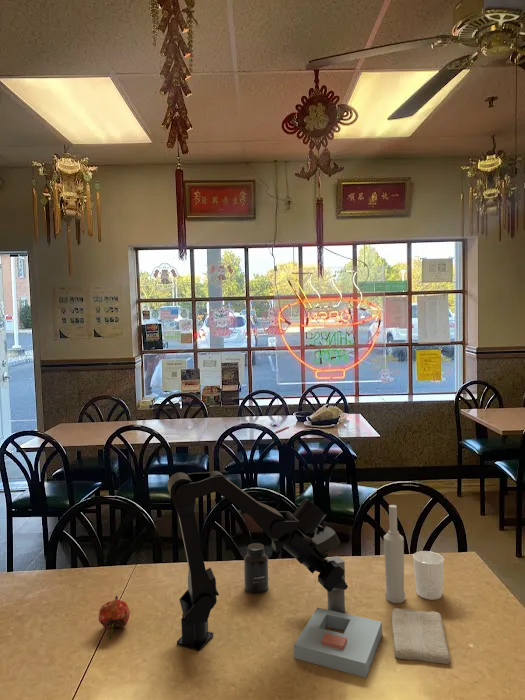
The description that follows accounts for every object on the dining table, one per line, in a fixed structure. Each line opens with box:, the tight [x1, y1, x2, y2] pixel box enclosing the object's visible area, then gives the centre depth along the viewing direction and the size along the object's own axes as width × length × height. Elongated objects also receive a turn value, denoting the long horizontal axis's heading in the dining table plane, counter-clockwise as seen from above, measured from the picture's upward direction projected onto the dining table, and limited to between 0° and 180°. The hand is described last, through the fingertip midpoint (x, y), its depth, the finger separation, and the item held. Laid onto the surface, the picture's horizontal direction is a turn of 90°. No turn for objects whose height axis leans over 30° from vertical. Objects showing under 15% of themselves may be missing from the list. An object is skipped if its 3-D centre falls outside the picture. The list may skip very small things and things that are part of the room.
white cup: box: [412, 550, 445, 601], centre depth 132 cm, size 8×8×10 cm
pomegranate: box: [98, 595, 131, 640], centre depth 120 cm, size 7×7×10 cm
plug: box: [325, 555, 346, 613], centre depth 126 cm, size 4×4×13 cm
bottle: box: [383, 504, 406, 604], centre depth 130 cm, size 5×5×25 cm
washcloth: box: [391, 607, 452, 665], centre depth 113 cm, size 12×18×3 cm, turn 168°
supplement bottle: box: [243, 542, 269, 594], centre depth 138 cm, size 7×7×12 cm
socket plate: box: [293, 607, 383, 679], centre depth 111 cm, size 16×16×4 cm
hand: (340, 581), depth 126 cm, fingers open, 7 cm apart
